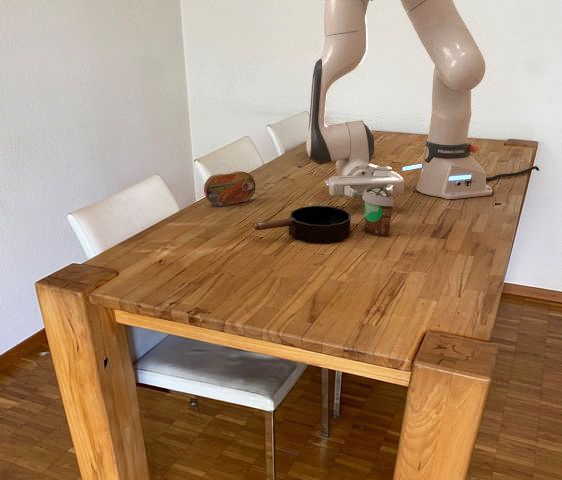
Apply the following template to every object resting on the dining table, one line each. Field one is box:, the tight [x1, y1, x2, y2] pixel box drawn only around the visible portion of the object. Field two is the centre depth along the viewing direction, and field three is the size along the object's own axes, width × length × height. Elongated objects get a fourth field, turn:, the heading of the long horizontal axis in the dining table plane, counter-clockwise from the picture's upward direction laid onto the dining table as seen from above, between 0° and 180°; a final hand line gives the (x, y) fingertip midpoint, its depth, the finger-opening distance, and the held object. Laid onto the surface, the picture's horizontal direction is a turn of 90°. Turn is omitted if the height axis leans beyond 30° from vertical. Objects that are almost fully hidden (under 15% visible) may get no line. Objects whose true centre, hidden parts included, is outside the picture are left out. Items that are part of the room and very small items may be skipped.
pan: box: [253, 205, 352, 245], centre depth 144 cm, size 25×15×5 cm, turn 112°
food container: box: [361, 184, 394, 237], centre depth 146 cm, size 12×6×10 cm, turn 5°
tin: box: [203, 170, 256, 207], centre depth 164 cm, size 15×3×8 cm, turn 117°
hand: (372, 194), depth 151 cm, fingers open, 8 cm apart
